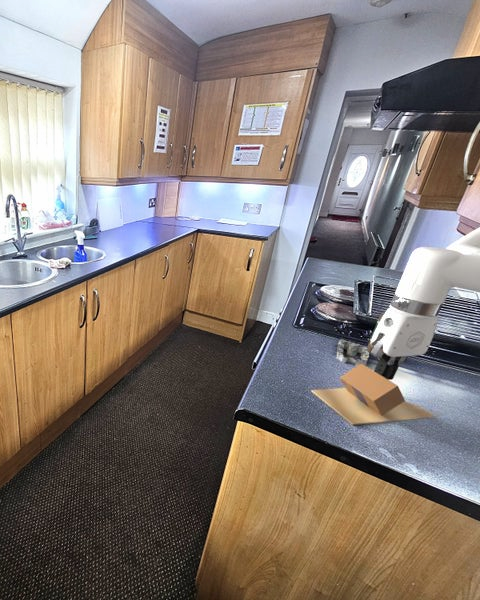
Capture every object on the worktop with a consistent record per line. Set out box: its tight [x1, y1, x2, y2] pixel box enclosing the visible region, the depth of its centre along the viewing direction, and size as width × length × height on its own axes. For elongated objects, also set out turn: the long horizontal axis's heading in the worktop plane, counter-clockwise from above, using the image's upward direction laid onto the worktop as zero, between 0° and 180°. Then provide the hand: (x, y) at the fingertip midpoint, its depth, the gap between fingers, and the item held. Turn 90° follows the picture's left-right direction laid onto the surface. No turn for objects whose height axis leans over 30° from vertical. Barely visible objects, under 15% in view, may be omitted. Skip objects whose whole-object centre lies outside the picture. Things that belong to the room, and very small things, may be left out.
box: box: [339, 364, 406, 416], centre depth 78 cm, size 6×9×6 cm
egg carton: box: [335, 338, 370, 367], centre depth 98 cm, size 11×8×4 cm
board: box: [310, 387, 438, 426], centre depth 80 cm, size 22×12×1 cm, turn 97°
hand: (382, 376), depth 77 cm, fingers closed
